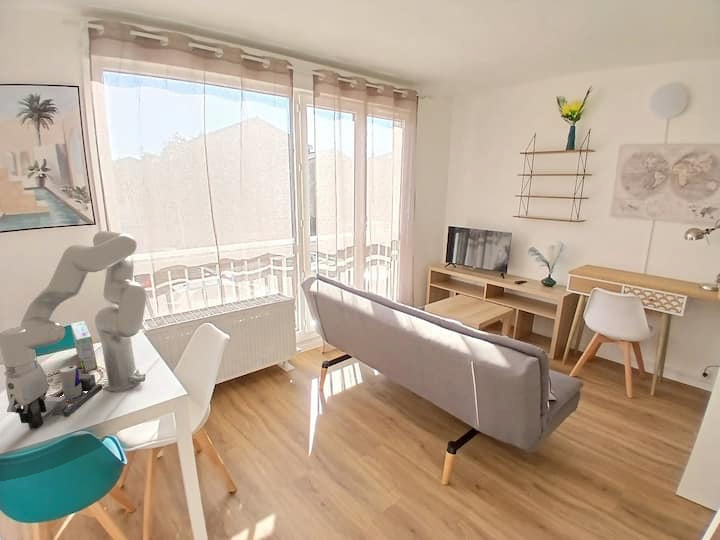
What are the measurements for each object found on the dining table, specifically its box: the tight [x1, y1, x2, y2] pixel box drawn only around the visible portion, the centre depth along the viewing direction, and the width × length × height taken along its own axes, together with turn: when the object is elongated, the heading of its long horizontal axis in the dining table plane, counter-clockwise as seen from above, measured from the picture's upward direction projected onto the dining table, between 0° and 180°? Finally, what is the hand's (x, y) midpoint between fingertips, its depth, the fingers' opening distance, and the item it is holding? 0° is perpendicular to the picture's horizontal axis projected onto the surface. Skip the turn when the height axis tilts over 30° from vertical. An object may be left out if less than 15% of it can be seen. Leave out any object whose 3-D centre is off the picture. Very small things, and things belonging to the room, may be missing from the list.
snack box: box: [70, 320, 99, 373], centre depth 163 cm, size 21×6×15 cm, turn 42°
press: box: [50, 373, 103, 418], centre depth 136 cm, size 12×17×6 cm
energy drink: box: [59, 364, 84, 402], centre depth 137 cm, size 5×5×12 cm
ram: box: [27, 396, 69, 430], centre depth 125 cm, size 8×10×10 cm
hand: (34, 416), depth 122 cm, fingers open, 4 cm apart
